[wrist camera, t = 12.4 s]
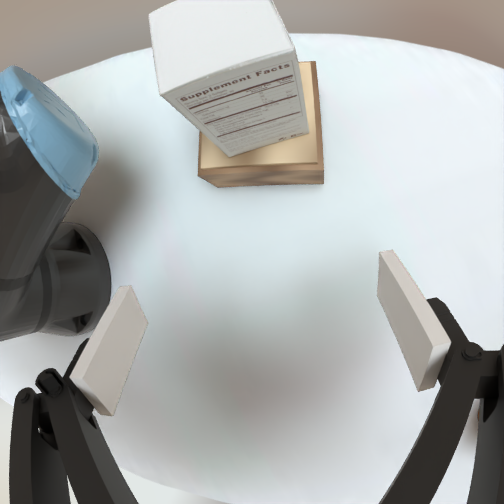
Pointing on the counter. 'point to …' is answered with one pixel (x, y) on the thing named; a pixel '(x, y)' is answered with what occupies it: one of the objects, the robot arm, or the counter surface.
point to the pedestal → (272, 151)
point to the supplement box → (230, 71)
